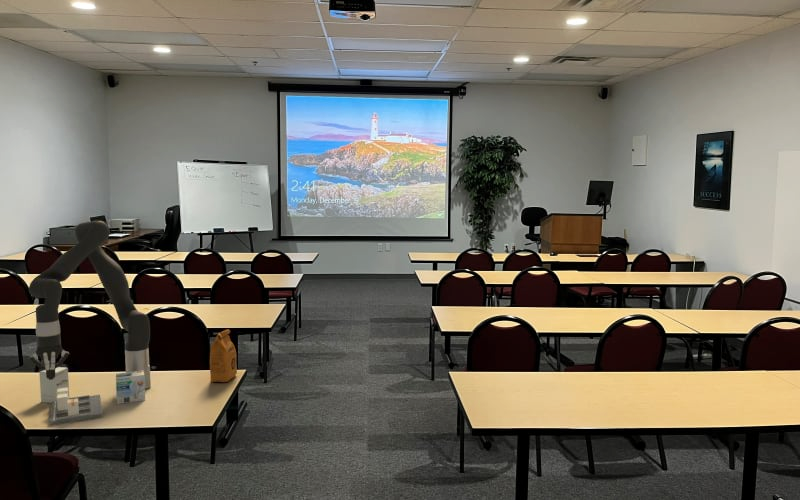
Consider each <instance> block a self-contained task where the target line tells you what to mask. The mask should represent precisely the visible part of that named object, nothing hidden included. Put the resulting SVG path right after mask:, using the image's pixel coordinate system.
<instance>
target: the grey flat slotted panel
mask: <svg viewBox="0 0 800 500" xmlns="http://www.w3.org/2000/svg"><path fill="white" fill-rule="evenodd" d="M76 398H78V405H79V415H72V416H68V409H67V410H60V411H58V407H57V401H53V402H52V403H51V410H50V420H49V424H50V426H51V427H52V426H55V425H63V424H68V423H75V422H80V421H86V420H93V419H98V418H99V417H100V418H104V417H103V409H102V401H101V400H102V399H101V394H95V395H90V394H88V395H87V394H86V395H80V396H74V397H73V396H72V397H68V399H76Z"/></svg>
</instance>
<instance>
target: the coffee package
mask: <svg viewBox="0 0 800 500" xmlns="http://www.w3.org/2000/svg"><path fill="white" fill-rule="evenodd" d="M230 333H231V330H230V329H225V330H223V331H221V332H219V333H218V334H217V335H216V337H215V339H214V340H213V342H212V344H211V346H210V352H209V372H210V382H211V383H217V382H218V383H220V382H221V383H224V382H225V383H228V382H229V381H230V380H232V379H233V378H234V377H236V375H237V373H238V369H237V368H238V367H237V351H236V348H235V345H234V343H233V342H232V341H231V338H230V335H229V334H230Z"/></svg>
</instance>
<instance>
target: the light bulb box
mask: <svg viewBox="0 0 800 500" xmlns="http://www.w3.org/2000/svg"><path fill="white" fill-rule="evenodd" d="M115 387H116V388H115V395H116V404H117V405H120V404H127V403H135V402H143V401H146V389H145V377H144V371H143V370H142V371H135V372H127V373H126V372H121V373H116V374H115Z"/></svg>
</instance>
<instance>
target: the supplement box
mask: <svg viewBox="0 0 800 500" xmlns="http://www.w3.org/2000/svg"><path fill="white" fill-rule="evenodd" d="M50 369H51V367H50ZM38 374H39V384H40V385H39V388H40V389H39V390H40V391H39V392H40V401H41V403H49V404H52V402H53V401H57V395H58V393H57V391H58V389H60V388H67V387H68V398H70V387H69V368H68V367H63V366H62V367H61V366H60V367H58V368H56V369H55V378H53V380H49V378H48V379H47V378H46V370H45V369H43V370H41V371H39V373H38Z"/></svg>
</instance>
